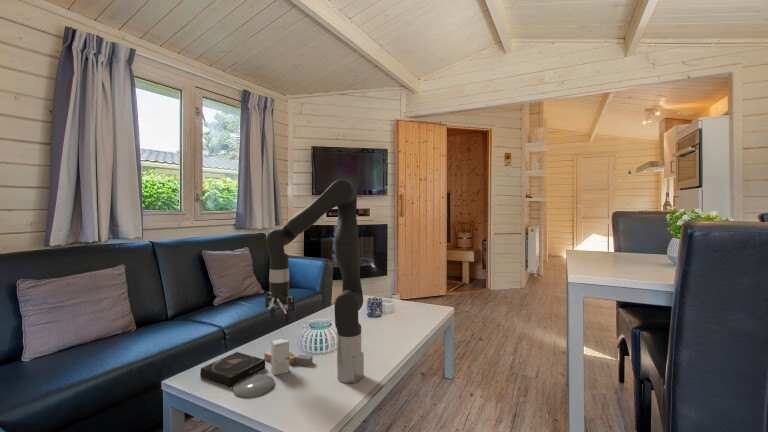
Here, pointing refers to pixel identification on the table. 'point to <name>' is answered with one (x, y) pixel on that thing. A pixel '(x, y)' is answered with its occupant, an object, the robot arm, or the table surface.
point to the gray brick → (304, 360)
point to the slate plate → (253, 385)
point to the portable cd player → (232, 369)
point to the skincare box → (280, 356)
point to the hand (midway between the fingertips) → (279, 320)
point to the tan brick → (292, 358)
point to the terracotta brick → (267, 356)
